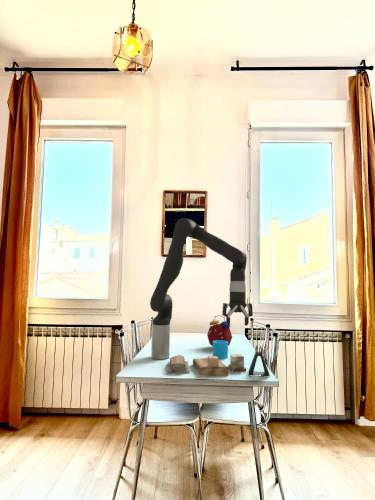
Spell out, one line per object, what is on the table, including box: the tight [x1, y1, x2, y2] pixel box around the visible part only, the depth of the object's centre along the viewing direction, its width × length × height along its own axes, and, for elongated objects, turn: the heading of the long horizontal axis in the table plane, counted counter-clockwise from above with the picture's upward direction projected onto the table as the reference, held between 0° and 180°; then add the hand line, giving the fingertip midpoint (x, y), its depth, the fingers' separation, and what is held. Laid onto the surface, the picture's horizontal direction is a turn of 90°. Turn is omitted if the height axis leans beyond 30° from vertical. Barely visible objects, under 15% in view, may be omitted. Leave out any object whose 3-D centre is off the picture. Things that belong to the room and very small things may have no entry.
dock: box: [192, 357, 229, 377], centre depth 154 cm, size 12×19×4 cm, turn 10°
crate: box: [207, 355, 220, 367], centre depth 149 cm, size 4×4×4 cm
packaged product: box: [167, 354, 190, 375], centre depth 156 cm, size 18×5×10 cm
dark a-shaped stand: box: [248, 345, 271, 378], centre depth 149 cm, size 9×6×12 cm, turn 80°
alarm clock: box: [206, 314, 233, 347], centre depth 203 cm, size 15×9×20 cm, turn 46°
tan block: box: [227, 353, 247, 373], centre depth 156 cm, size 6×8×6 cm
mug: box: [212, 340, 229, 360], centre depth 183 cm, size 12×8×8 cm
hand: (237, 325), depth 158 cm, fingers open, 8 cm apart
